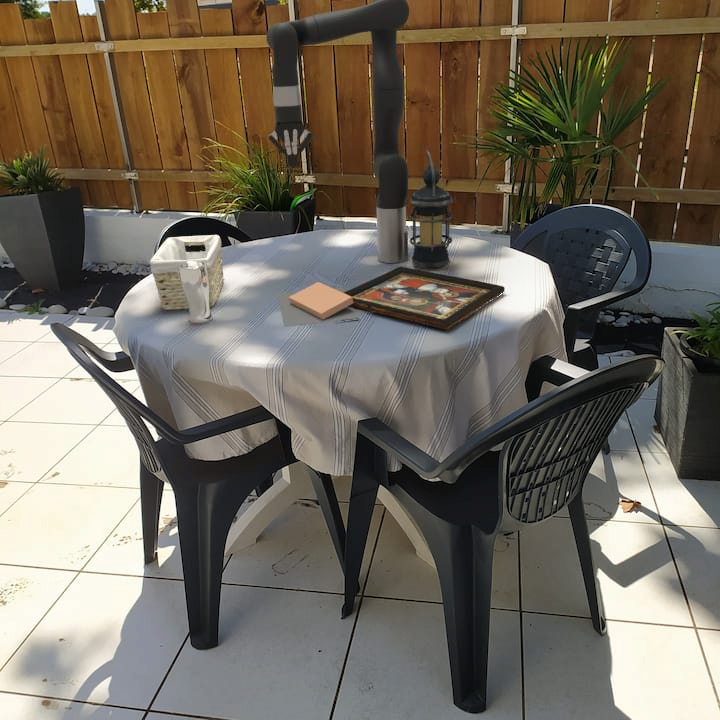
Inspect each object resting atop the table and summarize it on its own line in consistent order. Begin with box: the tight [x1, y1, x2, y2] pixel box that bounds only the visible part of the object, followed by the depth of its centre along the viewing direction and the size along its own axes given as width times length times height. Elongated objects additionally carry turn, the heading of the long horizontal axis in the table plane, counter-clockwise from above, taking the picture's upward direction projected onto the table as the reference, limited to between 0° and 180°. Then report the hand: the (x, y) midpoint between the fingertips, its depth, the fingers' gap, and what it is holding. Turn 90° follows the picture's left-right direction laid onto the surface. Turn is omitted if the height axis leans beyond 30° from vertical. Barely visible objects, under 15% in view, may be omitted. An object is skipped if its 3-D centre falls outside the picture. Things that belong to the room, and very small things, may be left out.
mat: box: [276, 287, 360, 327], centre depth 176 cm, size 19×24×1 cm
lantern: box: [408, 149, 454, 269], centre depth 197 cm, size 14×13×35 cm
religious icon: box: [344, 266, 505, 330], centre depth 178 cm, size 38×35×3 cm
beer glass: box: [179, 261, 214, 325], centre depth 169 cm, size 7×7×15 cm
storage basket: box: [149, 234, 226, 311], centre depth 186 cm, size 24×16×15 cm
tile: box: [289, 281, 353, 320], centre depth 174 cm, size 2×10×16 cm
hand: (293, 167), depth 189 cm, fingers closed
